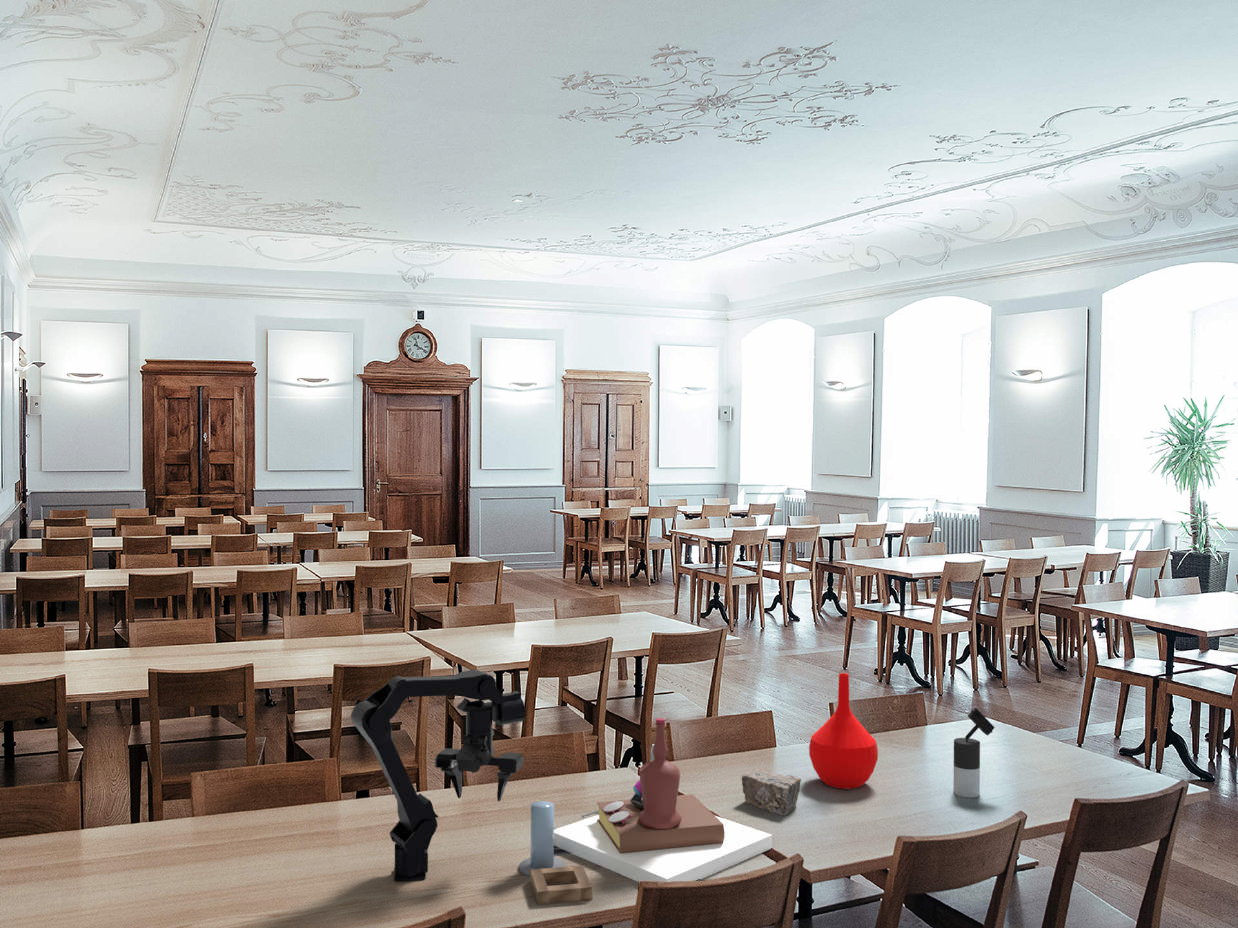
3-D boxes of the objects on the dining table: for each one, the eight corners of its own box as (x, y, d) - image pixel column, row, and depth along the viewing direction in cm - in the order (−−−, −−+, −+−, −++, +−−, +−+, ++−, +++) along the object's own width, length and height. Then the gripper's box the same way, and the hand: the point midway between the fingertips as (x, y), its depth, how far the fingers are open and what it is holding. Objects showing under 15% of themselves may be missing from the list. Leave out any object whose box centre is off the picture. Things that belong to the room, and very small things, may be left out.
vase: (825, 768, 290) (826, 664, 289) (888, 781, 279) (888, 672, 279) (797, 785, 275) (798, 675, 275) (861, 799, 264) (862, 684, 264)
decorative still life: (645, 805, 259) (646, 685, 259) (772, 849, 231) (773, 714, 231) (540, 841, 235) (540, 708, 235) (667, 895, 206) (668, 744, 206)
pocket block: (537, 904, 201) (537, 891, 201) (530, 881, 212) (530, 869, 212) (592, 899, 203) (592, 886, 203) (582, 877, 214) (582, 865, 214)
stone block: (806, 808, 257) (806, 778, 257) (786, 817, 251) (786, 786, 251) (759, 795, 267) (760, 766, 267) (739, 803, 260) (739, 773, 260)
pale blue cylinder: (532, 870, 216) (532, 809, 216) (529, 861, 221) (529, 801, 221) (555, 868, 217) (555, 807, 217) (551, 859, 222) (552, 800, 222)
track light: (972, 809, 266) (1022, 753, 268) (930, 766, 264) (981, 709, 266) (960, 801, 273) (1009, 746, 275) (918, 758, 270) (968, 703, 273)
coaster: (522, 878, 213) (522, 876, 213) (516, 860, 223) (516, 857, 223) (569, 875, 215) (569, 872, 215) (561, 856, 225) (561, 854, 225)
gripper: (424, 735, 218) (425, 808, 218) (507, 741, 214) (507, 815, 214) (444, 722, 229) (444, 791, 229) (524, 727, 225) (524, 797, 225)
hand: (479, 799), depth 224 cm, fingers open, 9 cm apart
